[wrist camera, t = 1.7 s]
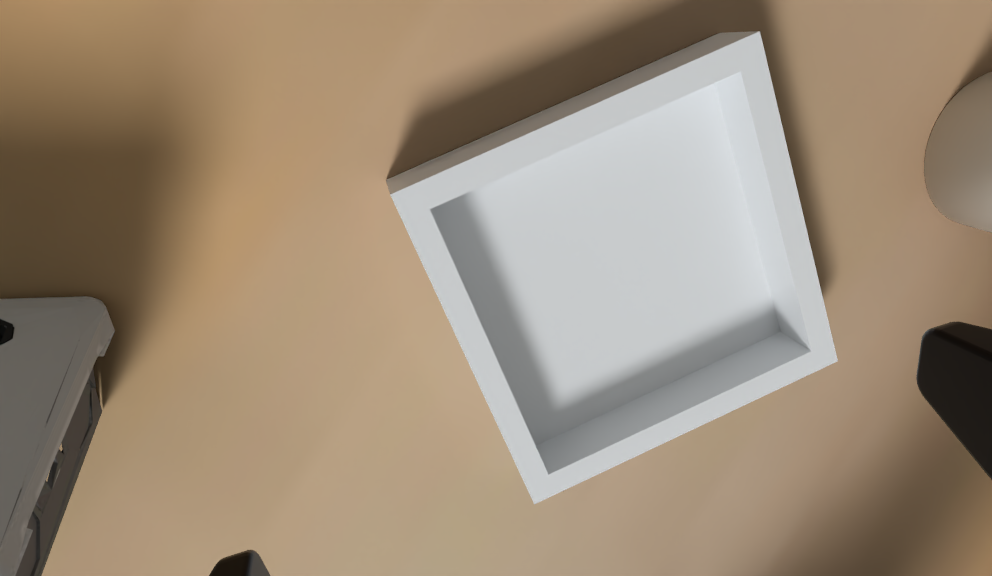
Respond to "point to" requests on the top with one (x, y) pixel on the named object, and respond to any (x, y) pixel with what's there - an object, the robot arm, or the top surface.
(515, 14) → the top surface
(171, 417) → the top surface
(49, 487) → the electrical switch
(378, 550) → the top surface
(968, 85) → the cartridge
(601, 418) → the tray
